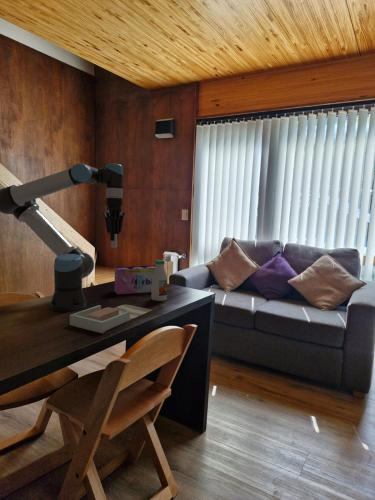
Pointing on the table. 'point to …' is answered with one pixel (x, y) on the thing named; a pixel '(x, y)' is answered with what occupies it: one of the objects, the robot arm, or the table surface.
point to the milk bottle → (159, 282)
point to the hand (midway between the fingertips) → (114, 247)
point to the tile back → (110, 311)
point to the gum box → (133, 279)
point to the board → (132, 310)
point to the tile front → (98, 315)
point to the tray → (96, 325)
